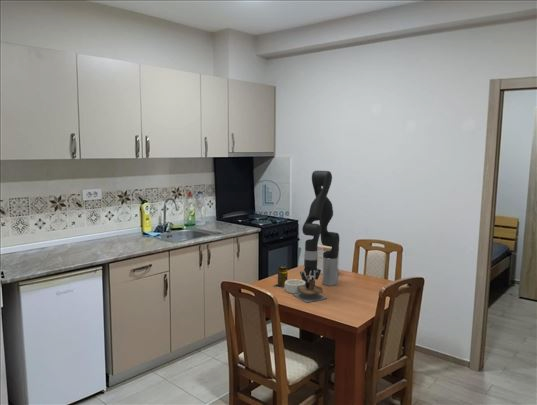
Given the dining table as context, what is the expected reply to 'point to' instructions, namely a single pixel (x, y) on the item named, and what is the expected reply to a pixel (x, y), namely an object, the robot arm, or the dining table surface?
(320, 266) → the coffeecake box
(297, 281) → the bowl
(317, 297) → the mat
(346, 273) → the dining table surface
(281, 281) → the condiment
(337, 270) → the robot arm
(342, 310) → the dining table surface
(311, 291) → the lid
